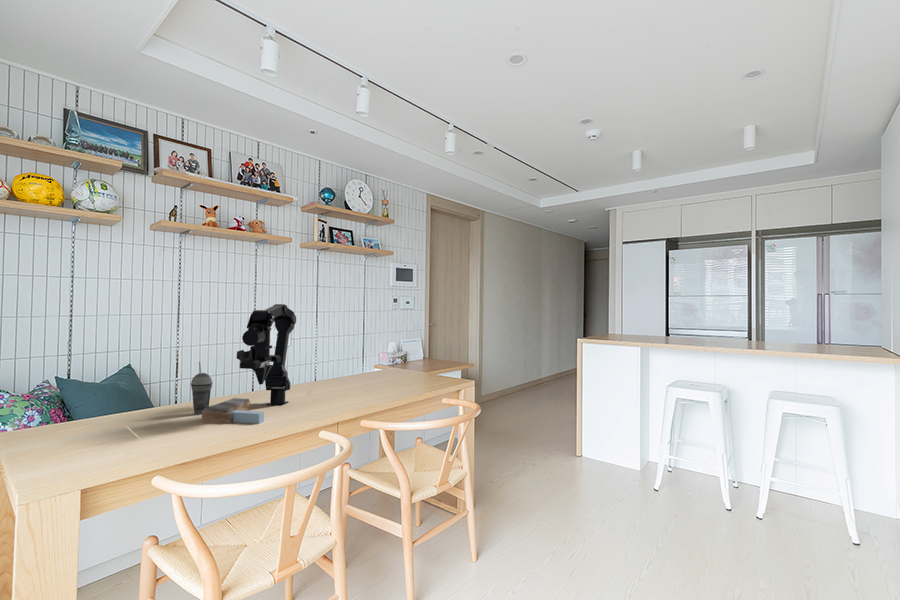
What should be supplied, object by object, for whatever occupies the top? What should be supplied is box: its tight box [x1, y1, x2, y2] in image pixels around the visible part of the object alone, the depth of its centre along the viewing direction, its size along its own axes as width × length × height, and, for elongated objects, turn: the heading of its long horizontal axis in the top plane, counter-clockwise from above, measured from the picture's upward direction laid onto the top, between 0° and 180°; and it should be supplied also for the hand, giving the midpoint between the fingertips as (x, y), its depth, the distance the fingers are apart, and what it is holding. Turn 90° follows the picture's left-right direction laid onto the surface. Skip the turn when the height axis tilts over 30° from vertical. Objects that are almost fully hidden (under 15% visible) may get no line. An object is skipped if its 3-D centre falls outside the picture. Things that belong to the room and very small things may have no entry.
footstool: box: [201, 397, 251, 424], centre depth 160 cm, size 18×11×5 cm, turn 173°
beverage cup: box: [190, 361, 213, 416], centre depth 163 cm, size 7×7×20 cm
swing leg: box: [226, 410, 265, 425], centre depth 153 cm, size 14×3×4 cm, turn 82°
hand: (260, 384), depth 162 cm, fingers closed
